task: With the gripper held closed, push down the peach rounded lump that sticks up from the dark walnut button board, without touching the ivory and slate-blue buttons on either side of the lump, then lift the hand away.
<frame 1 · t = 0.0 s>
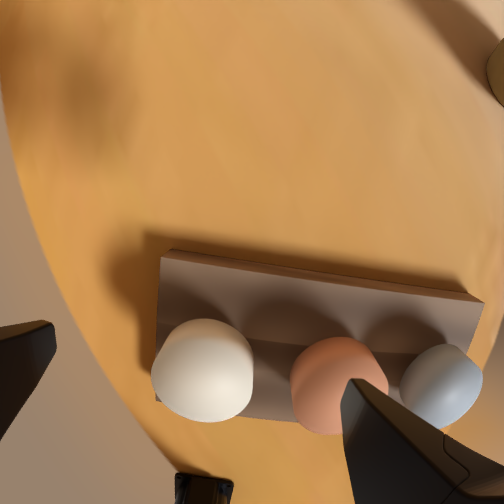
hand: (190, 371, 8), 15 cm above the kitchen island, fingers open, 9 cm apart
button board: (323, 347, 24), on the kitchen island
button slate: (433, 378, 20), point 4 cm above the kitchen island, slide at 0.0 cm
peach rounded lump: (333, 375, 20), point 4 cm above the kitchen island, slide at 0.0 cm
button ivory: (207, 360, 20), point 4 cm above the kitchen island, slide at 0.0 cm
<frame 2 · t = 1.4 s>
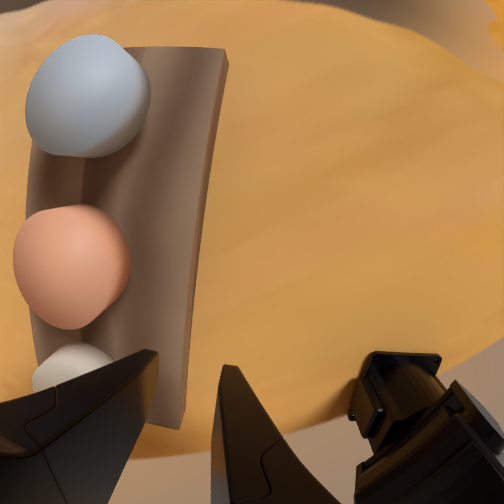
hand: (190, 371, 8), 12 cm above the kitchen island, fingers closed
button board: (112, 244, 20), on the kitchen island
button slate: (99, 103, 14), point 4 cm above the kitchen island, slide at 0.0 cm
peach rounded lump: (82, 258, 16), point 4 cm above the kitchen island, slide at 0.0 cm
button ivory: (89, 381, 18), point 4 cm above the kitchen island, slide at 0.0 cm
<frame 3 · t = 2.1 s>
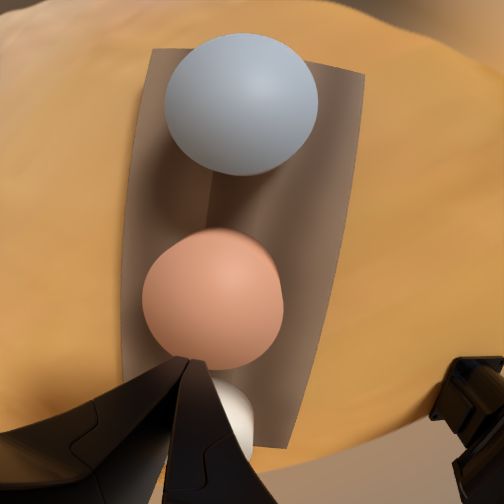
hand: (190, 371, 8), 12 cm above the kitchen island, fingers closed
button board: (228, 266, 20), on the kitchen island
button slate: (244, 114, 14), point 4 cm above the kitchen island, slide at 0.0 cm
peach rounded lump: (219, 287, 16), point 4 cm above the kitchen island, slide at 0.0 cm
button ivory: (205, 414, 18), point 4 cm above the kitchen island, slide at 0.0 cm
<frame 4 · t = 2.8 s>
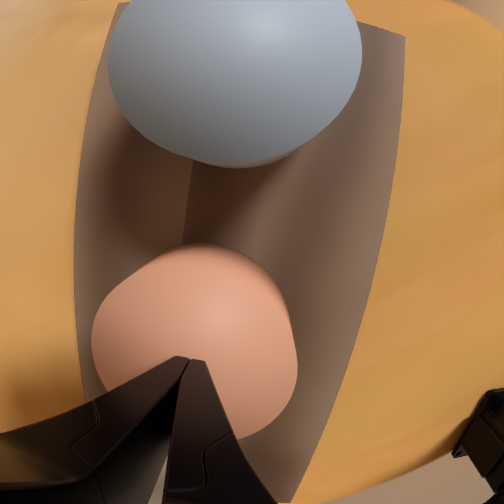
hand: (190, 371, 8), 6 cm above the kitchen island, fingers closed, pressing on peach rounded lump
button board: (216, 293, 15), on the kitchen island
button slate: (238, 75, 9), point 4 cm above the kitchen island, slide at 0.0 cm
peach rounded lump: (204, 326, 11), point 4 cm above the kitchen island, slide at 0.6 cm, touching gripper
button ivory: (190, 477, 12), point 4 cm above the kitchen island, slide at 0.0 cm
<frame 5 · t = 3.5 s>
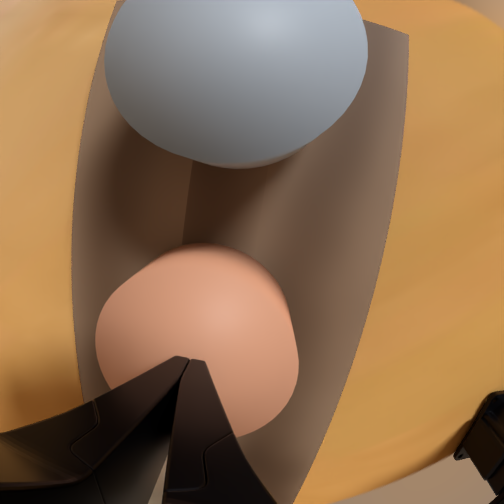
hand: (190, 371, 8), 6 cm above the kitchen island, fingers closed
button board: (217, 296, 14), on the kitchen island
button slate: (239, 73, 8), point 4 cm above the kitchen island, slide at 0.0 cm
peach rounded lump: (206, 325, 11), point 3 cm above the kitchen island, slide at 1.0 cm
button ivory: (190, 481, 12), point 4 cm above the kitchen island, slide at 0.0 cm
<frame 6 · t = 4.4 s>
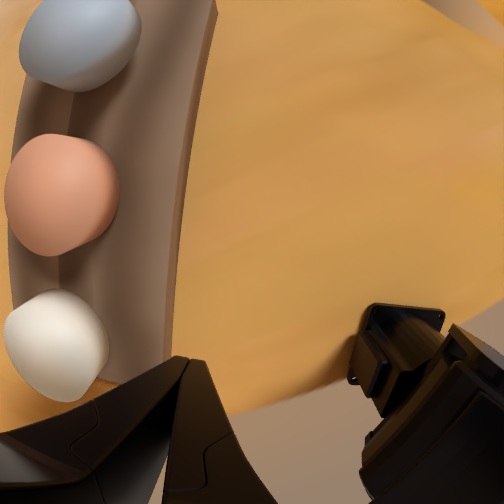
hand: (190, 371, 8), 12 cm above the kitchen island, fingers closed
button board: (96, 188, 19), on the kitchen island
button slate: (90, 42, 13), point 4 cm above the kitchen island, slide at 0.0 cm
peach rounded lump: (72, 191, 16), point 3 cm above the kitchen island, slide at 1.0 cm
button ivory: (66, 335, 16), point 4 cm above the kitchen island, slide at 0.0 cm
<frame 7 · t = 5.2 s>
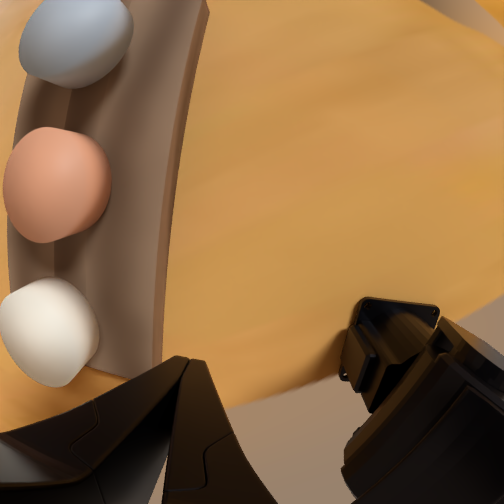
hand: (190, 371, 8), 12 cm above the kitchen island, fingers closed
button board: (92, 182, 19), on the kitchen island
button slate: (86, 41, 13), point 4 cm above the kitchen island, slide at 0.0 cm
peach rounded lump: (68, 183, 16), point 3 cm above the kitchen island, slide at 1.0 cm
button ivory: (58, 322, 17), point 4 cm above the kitchen island, slide at 0.0 cm
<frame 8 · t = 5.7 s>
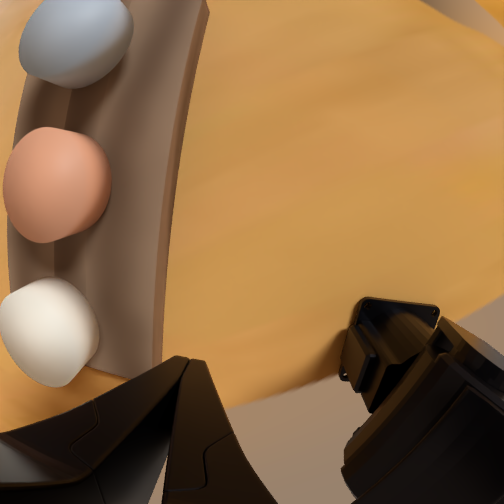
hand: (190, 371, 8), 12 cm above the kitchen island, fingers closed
button board: (92, 182, 19), on the kitchen island
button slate: (86, 41, 13), point 4 cm above the kitchen island, slide at 0.0 cm
peach rounded lump: (68, 183, 16), point 3 cm above the kitchen island, slide at 1.0 cm
button ivory: (58, 322, 17), point 4 cm above the kitchen island, slide at 0.0 cm
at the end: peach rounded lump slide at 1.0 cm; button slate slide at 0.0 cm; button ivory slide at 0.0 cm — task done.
